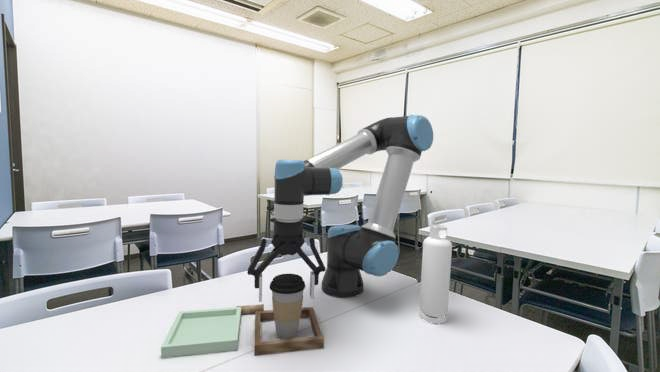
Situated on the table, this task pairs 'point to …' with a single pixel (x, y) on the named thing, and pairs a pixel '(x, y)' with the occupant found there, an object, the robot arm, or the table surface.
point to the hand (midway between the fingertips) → (286, 298)
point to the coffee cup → (287, 304)
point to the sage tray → (203, 332)
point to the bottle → (435, 275)
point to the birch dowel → (251, 308)
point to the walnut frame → (287, 344)
